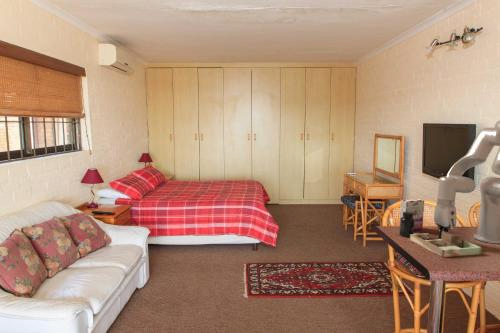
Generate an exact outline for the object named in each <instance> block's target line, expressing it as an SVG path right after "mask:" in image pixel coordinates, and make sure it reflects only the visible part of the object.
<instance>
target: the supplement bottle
mask: <svg viewBox="0 0 500 333" xmlns="http://www.w3.org/2000/svg"><path fill="white" fill-rule="evenodd" d="M412 217H413V213H412V212H403V217H401V219H399V220H400V221H399V232H398V233H399V235H400V236H402V237H404V238H410V234H415V230H414V225H415V220H414V218H412Z"/></svg>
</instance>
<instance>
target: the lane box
mask: <svg viewBox="0 0 500 333" xmlns="http://www.w3.org/2000/svg"><path fill="white" fill-rule="evenodd" d="M426 239H429V240H426ZM409 240H410V242H412V243H414V242H415V243H414V244H416V243H417V244H416V245H419V246H421V247H422V248H424V249H426V250H428V251H430V252H432V253H434V254H435V255H437V256H440V257H441V258H446V257H447V258H448V257H461V250H462V249H460V248H456V249H441V248H439V247H437V246H442V247H443V245H442V242H443V240H442V239H439V238H437V239H436V238H435V239H430V233H429V232H425V233H424V232H423V233H414V234H410V237H409ZM464 241H466V240H465V239H463V238H462V244H461V248H464V247H463V246H464Z"/></svg>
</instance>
